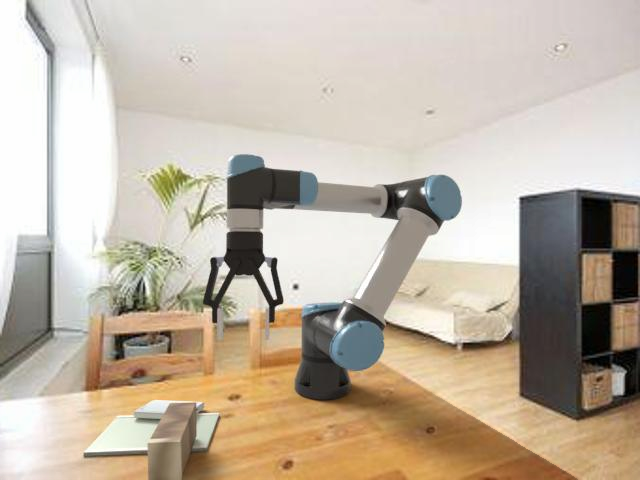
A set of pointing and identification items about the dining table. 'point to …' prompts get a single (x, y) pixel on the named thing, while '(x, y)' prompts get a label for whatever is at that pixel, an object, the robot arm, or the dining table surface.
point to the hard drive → (160, 409)
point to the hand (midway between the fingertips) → (243, 338)
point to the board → (144, 435)
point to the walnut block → (172, 442)
